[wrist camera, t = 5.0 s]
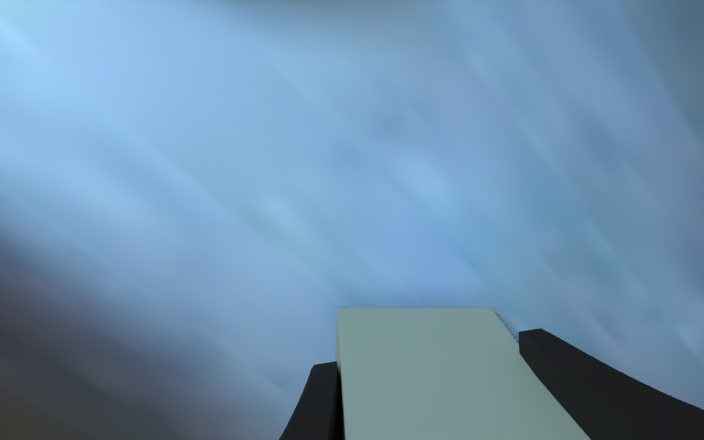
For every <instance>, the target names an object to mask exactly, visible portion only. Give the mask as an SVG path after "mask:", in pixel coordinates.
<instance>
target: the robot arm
mask: <svg viewBox="0 0 704 440" xmlns="http://www.w3.org/2000/svg"><path fill="white" fill-rule="evenodd" d="M519 353H520V355H521V356H522V358H523V359H524V360H525V362H526V363H527V364H528V366H529V367H530V369H531V370H532V371H533V373H534V374H535V375H536V377H537V378H538V379H539V380H540V381H541V383H542V384H543V385H544V386H545V387H546V388H547V390H548V391H549V392H550V393H551V394H552V395H553V397H554V398H555V399H556V400H557V401H558V402H559V403H560V405H561V406H562V407H563V408H564V409H565V410H566V412H567V413H568V414H569V415H570V416H571V417H572V419H573V420H574V421H575V422H576V423H577V424H578V425H579V427H580V428H581V429H582V430H583V431H584V432H585V434H586V435H587V436H588V437H589V438H590V440H704V410H703V409H700V408H698V407H695V406H693V405H691V404H688V403H686V402H683V401H681V400H678V399H676V398H674V397H672V396H669V395H667V394H665V393H663V392H660V391H658V390H656V389H654V388H652V387H650V386H648V385H646V384H644V383H642V382H640V381H638V380H635V379H633V378H631V377H629V376H627V375H626V374H624V373H622V372H620V371H618V370H616V369H614V368H612V367H610V366H608V365H606V364H605V363H603V362H601V361H599V360H597V359H595V358H594V357H592V356H590V355H588V354H586V353H585V352H583V351H581V350H579V349H577V348H576V347H574V346H572V345H570V344H569V343H567V342H565V341H563V340H561V339H560V338H558V337H556V336H554V335H552V334H551V333H549V332H547V331H545V330H543V329H541V328H540V329H534V330H528V331H522V332H519ZM279 440H342V429H341V395H340V377H339V370H338V365H337V361H336V362H330V363H323V364H317V365H314V366H313V368H312V369H311V372H310V375H309V377H308V380H307V383H306V385H305V388H304V390H303V393H302V395H301V397H300V400H299V402H298V404H297V406H296V408H295V410H294V412H293V414H292V416H291V418H290V421H289V423H288V425H287V426H286V428H285V430H284V432H283V434H282V436H281V437H280V439H279Z"/></svg>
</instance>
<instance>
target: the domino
mask: <svg viewBox="0 0 704 440" xmlns="http://www.w3.org/2000/svg"><path fill="white" fill-rule="evenodd" d="M336 361H337V365H338V370H339V377H340V395H341V429H342V440H590V438H589V437H588V436H587V435H586V434H585V432H584V431H583V430H582V429H581V428H580V427H579V425H578V424H577V423H576V422H575V421H574V420H573V419H572V417H571V416H570V415H569V414H568V413H567V412H566V410H565V409H564V408H563V407H562V406H561V405H560V403H559V402H558V401H557V400H556V399H555V398H554V397H553V395H552V394H551V393H550V392H549V391H548V390H547V388H546V387H545V386H544V385H543V384H542V383H541V381H540V380H539V379H538V378H537V377H536V375H535V374H534V373H533V371H532V370H531V369H530V367H529V366H528V364H527V363H526V362H525V360H524V359H523V358H522V356H521V355H520V353H519V344H518V343H517V341H516V340H515V339H514V337H513V336H512V335H511V333H510V332H509V331H508V330H507V328H506V327H505V326H504V324H503V323H502V322H501V320H500V319H499V318H498V316H497V315H496V314H495V312H494V311H493V310H492V308H475V307H337V326H336Z"/></svg>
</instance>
